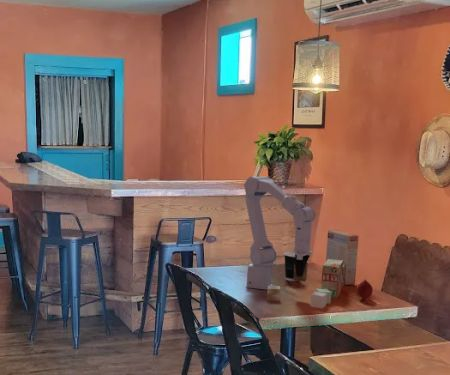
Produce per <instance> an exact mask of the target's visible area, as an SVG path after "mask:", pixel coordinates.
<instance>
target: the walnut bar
mask: <svg viewBox="0 0 450 375" xmlns="http://www.w3.org/2000/svg"><path fill="white" fill-rule="evenodd" d="M308 266H309V265H308V263H306V265H305V268H304V273H303V276H302V277H298V276H297V275H296V268H295V264H294V277H293V280H296V281H295V282H298V281H299V282H306V281H307V279H308V278H307V277H308Z"/></svg>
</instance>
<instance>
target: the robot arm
mask: <svg viewBox="0 0 450 375" xmlns="http://www.w3.org/2000/svg"><path fill="white" fill-rule="evenodd" d="M243 186H244V191H245V196H244V197H245V198H244V200H245V205H246V210H247V214H248V219H249V224H250V229H251V230H250V231H251V234H252V240H253V243H252V244H251V245H250V247H249V249H250V254H249V258H250V259H249V260H250V261H251V263H249V264H248V266H247V274H246V286H245V288H249V289H251V288H252V289H256V290H257V289H259V290H260V289H261V290H266V291H267V289H268V285H270V286H274V284H273V283H272V268H273V265H274V262H276V259H277V252H276V250H275V248H274V245H273V243H272V242H271V241H270V240H269V239H268V236H267V230H266V226H265V222H264V221H265V220H264V215H263V211H262V206H261V200H262V198H264V197H265V195H267V193H268V194H269V195H270V196H272V197H273V198H275V199H277V200H278V201H279V202H280V203H281V207H282V208H283V209H284V210H285V211H287V212H288V213H289V214H290V215H291V216H292V218H293V220H294V226H295V232H294V233H295V234H294V250H293V252H294V253H295V257H293V261H294V264H295V268H296V275H297V276H298V277H302V276H303V273H304V268H305V265H306V263H307V262H308V261H309V258H310V257H311V255H313V251H311V250H310V249H311V236H312V223H313V221H314V220H315V218H316V213H315V212H316V211H315V210H314V209H313V207H312V206H306V205H305V203H303V202H301V201H300V200H298V199H297V196H296V195H291V194H290V195H287V194H286V193H285V192H284V191H283V190H282V189H281V188H280V187H279V186H278V185H277V184H276V183H275V182H274V180H273V179H271V178H270V177H269V176H267V175H265V176H249V177H248V178H246V180H245V182H244V184H243Z"/></svg>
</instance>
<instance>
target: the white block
mask: <svg viewBox="0 0 450 375" xmlns="http://www.w3.org/2000/svg"><path fill="white" fill-rule="evenodd" d="M326 301H327V294H326V293H320V292H315V291H314V292H312V293H311V294H310V306H309V307H312V308H317V309H324V308H325V307H326V306H327V304H326Z"/></svg>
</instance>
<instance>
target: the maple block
mask: <svg viewBox="0 0 450 375" xmlns="http://www.w3.org/2000/svg"><path fill="white" fill-rule="evenodd" d="M266 292H267V293H266V301H276V302H279V301H280V298H281V297H280V296H281V286H280V285H273V286H270V285H268V289H267V290H266Z"/></svg>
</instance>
